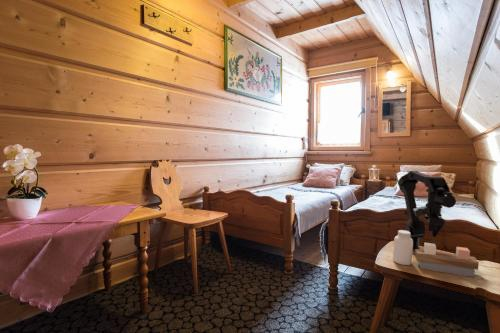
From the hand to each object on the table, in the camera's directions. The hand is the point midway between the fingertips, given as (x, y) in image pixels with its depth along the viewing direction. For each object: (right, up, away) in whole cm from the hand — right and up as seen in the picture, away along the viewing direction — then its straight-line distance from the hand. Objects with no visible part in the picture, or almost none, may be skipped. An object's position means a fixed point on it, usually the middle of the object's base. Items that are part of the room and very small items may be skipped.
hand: (432, 233), depth 138 cm
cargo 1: (-6, -7, -7) cm, 12 cm away
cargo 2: (+6, -8, -12) cm, 15 cm away
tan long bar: (0, -11, -9) cm, 14 cm away
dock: (0, -14, -9) cm, 17 cm away
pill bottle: (-16, -13, -2) cm, 21 cm away
